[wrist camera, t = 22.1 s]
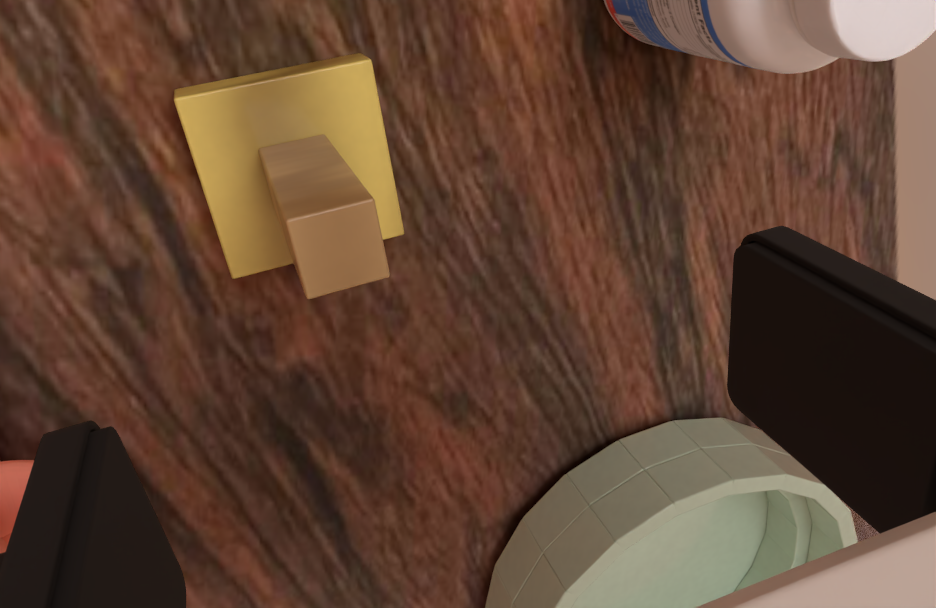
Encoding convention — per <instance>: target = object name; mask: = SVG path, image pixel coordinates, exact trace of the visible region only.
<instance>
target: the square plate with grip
mask: <svg viewBox="0 0 936 608" xmlns="http://www.w3.org/2000/svg"><path fill="white" fill-rule="evenodd" d="M174 103H175V106H176V109H177V112H178V115H179V118H180V121H181V124H182V127H183V130H184V133H185V136H186V139H187V143H188V146H189V149H190V152H191V155H192V158H193V161H194V164H195V167H196V170H197V173H198V176H199V179H200V182H201V185H202V188H203V192H204V195H205V198H206V201H207V204H208V207H209V210H210V213H211V216H212V219H213V222H214V225H215V228H216V231H217V234H218V238H219V241H220V244H221V247H222V250H223V253H224V256H225V259H226V262H227V265H228V268H229V271H230V274H231V277H232V278H233V279H236V278H240V277H244V276H247V275H251V274H255V273H259V272H263V271H266V270H270V269H274V268H278V267H282V266H286V265H289V264H293V263H294V266H295V268H296V271H297V274H298V277H299V280H300V282H301V285H302V288H303V291H304V294H305V296H306V298H307V299H312V298H315V297H319V296H323V295H326V294H330V293H334V292H337V291H341V290H344V289H348V288H352V287H355V286H359V285H363V284H366V283H370V282H373V281H377V280H381V279H384V278H388V277H389V276H390V272H389V267H388V262H387V258H386V253H385V248H384V243H383V240H385V239H388V238H392V237H396V236H400V235H403V234H404V228H403V223H402V218H401V212H400V207H399V202H398V197H397V191H396V186H395V181H394V176H393V170H392V165H391V160H390V155H389V149H388V144H387V139H386V134H385V128H384V123H383V118H382V113H381V107H380V102H379V97H378V92H377V87H376V81H375V76H374V71H373V66H372V61H371V59H369V58H368V57H366V56H364V55H363V54H361V53H356V54H351V55H346V56H341V57H336V58H331V59H326V60H321V61H316V62H311V63H306V64H301V65H296V66H291V67H286V68H281V69H276V70H270V71H265V72H260V73H255V74H250V75H245V76H240V77H235V78H230V79H225V80H220V81H215V82H210V83H205V84H200V85H195V86H190V87H185V88H180V89H176V90H174Z"/></svg>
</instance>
